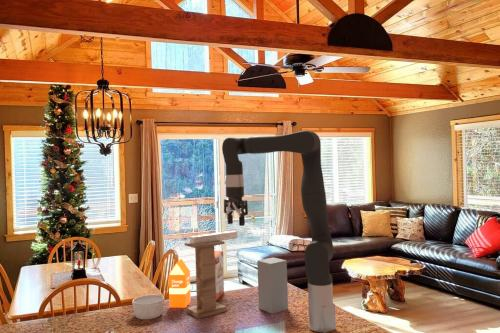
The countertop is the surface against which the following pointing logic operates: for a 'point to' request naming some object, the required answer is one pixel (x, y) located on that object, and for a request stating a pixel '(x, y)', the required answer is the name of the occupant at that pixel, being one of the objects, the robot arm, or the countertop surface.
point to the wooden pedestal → (205, 281)
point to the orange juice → (179, 285)
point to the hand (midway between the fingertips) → (235, 224)
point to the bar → (213, 237)
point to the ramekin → (148, 306)
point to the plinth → (272, 285)
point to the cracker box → (219, 273)
